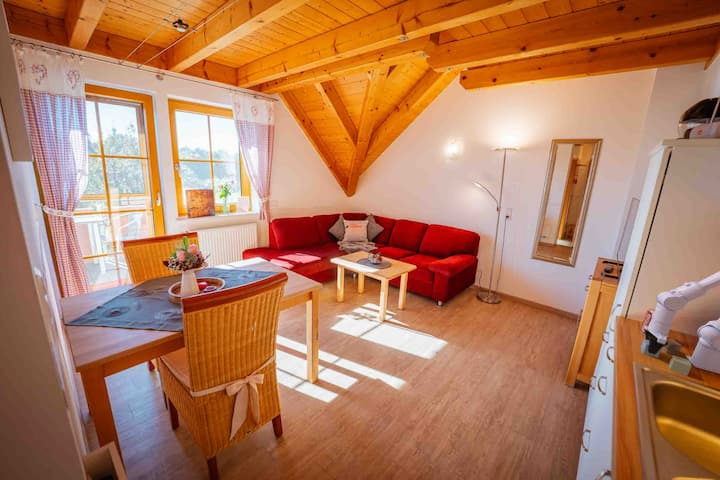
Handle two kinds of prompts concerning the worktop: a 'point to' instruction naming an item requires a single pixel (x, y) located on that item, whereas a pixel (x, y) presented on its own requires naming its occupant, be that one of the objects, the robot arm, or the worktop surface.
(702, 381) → the worktop surface
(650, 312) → the soda can
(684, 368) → the olive block
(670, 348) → the walnut block
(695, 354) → the robot arm
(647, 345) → the slate blue block
